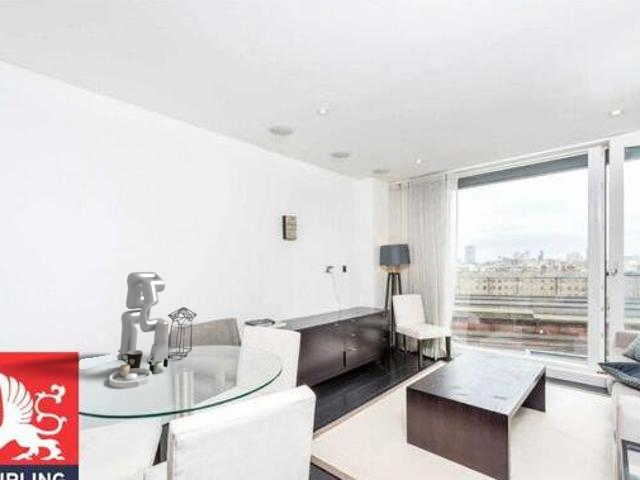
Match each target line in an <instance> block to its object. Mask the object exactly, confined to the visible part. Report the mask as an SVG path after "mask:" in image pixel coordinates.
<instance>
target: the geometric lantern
mask: <svg viewBox="0 0 640 480" xmlns="http://www.w3.org/2000/svg"><path fill="white" fill-rule="evenodd" d="M180 315H182V316H180ZM197 316H198V314H197V313H195V312H193V311H192V310H190V309H188V308H187V307H185V306H183V307H181V308H179V309H177V310H175V311H173V312H171V313H169V314H167V317H168V318H170V319H171V321H172V322H171V326H170V332H169V336H168V338H169V339H168V351H170V352H172V354H171V357H172V356H174V357H179V360H182V357H184V356H183V355H187V356H188V353H190V352H191V351H192V350H193V349H192V348H193V345H192V344H193V343H192V341H193V340H192V339H193V337H192V335H193V331H192V329H193V323H192V321H193V320H194V318H196V317H197ZM183 319H184V320H183ZM181 320H183V321H182V323H181V322H180V321H181ZM186 320H187V322H186V323H185V321H186ZM174 322H177V323H178V324H174ZM188 322H189V326H187V325H188ZM184 323H185V324H184ZM173 324H174V325H173ZM177 326H178V327H177ZM185 326H187V327H185ZM173 327H174V328H175V329H177V335H176V340H175V347H173V348H171V349H170V344H171V336H172V329H173ZM187 328H190V339H189V340H190V344H189V348H187V347H185V339H183V341H182V332H183V335H185V329H187ZM179 330H180V336H179ZM178 336H179V337H178ZM178 339H179V346H178V347H177V345H178ZM182 342H183V343H182ZM181 343H182V344H183V345H182V344H181ZM181 346H182V347H181ZM181 349H182V351H181ZM172 350H175V352H174V351H172ZM185 350H187V351H185ZM176 354H180V355H176ZM171 357H170V358H171ZM172 358H173V357H172Z"/></svg>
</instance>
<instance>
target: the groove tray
mask: <svg viewBox="0 0 640 480" xmlns="http://www.w3.org/2000/svg"><path fill="white" fill-rule="evenodd" d="M119 375H120V370H118V371H115V372H113V373H112V374H110V375H109V381H108V383H109V384H108V385H109V386H111V387H113V386H114V387H113V388H116V387H117V388H118V389H120V388H121V389H128V388H135V387H140V386H144V385H145V384H146V385H147V384H149V383H150V381H152V378H153V377H152V376H153V373H152V372H151V371H150V370H149V369H146V368H141V367H140V368H133V369H130V372H129V374H126V375H125V378H121V377H119Z"/></svg>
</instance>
